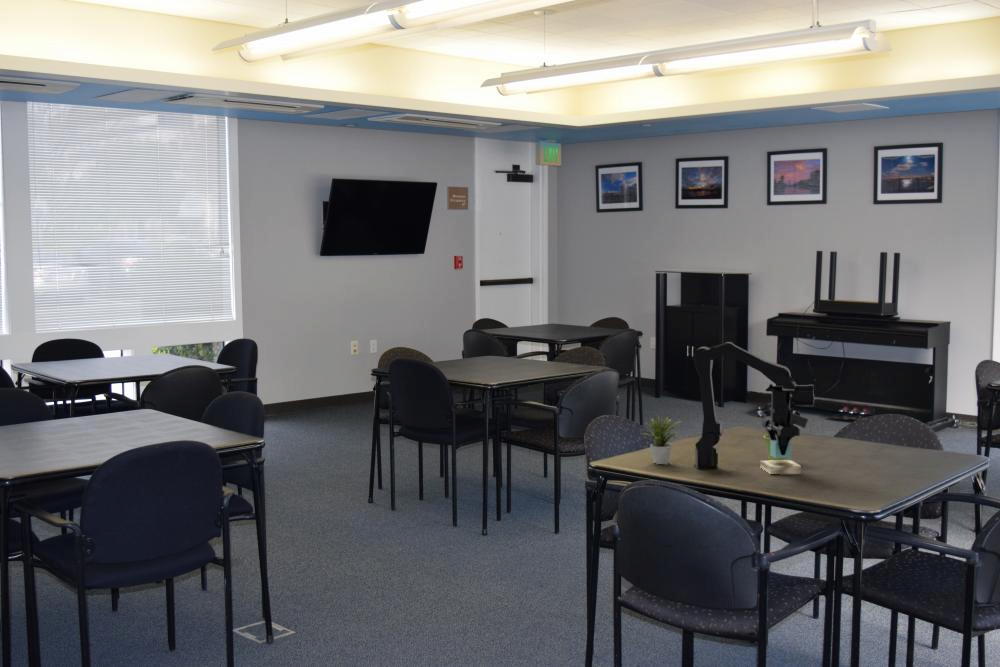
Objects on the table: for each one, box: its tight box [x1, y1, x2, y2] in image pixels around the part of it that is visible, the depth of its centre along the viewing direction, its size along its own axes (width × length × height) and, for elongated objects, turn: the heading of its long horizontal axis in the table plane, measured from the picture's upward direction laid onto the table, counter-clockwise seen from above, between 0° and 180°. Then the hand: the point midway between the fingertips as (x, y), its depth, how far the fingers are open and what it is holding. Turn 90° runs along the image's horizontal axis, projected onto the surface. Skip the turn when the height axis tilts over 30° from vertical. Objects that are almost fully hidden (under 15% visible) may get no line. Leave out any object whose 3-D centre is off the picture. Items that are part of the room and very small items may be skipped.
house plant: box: [642, 415, 683, 465], centre depth 338 cm, size 14×14×16 cm
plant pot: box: [763, 434, 793, 460], centre depth 338 cm, size 9×9×9 cm
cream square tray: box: [759, 459, 802, 475], centre depth 324 cm, size 10×10×3 cm
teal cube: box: [770, 440, 792, 459], centre depth 324 cm, size 5×5×5 cm
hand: (780, 453), depth 324 cm, fingers closed on teal cube, 5 cm apart
